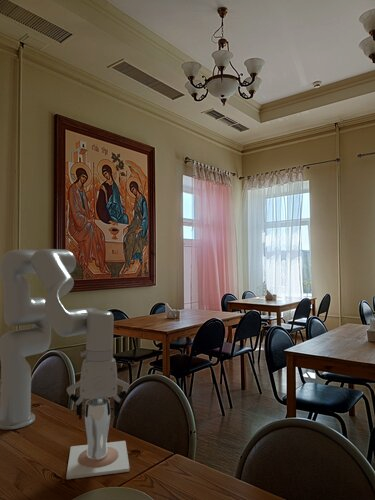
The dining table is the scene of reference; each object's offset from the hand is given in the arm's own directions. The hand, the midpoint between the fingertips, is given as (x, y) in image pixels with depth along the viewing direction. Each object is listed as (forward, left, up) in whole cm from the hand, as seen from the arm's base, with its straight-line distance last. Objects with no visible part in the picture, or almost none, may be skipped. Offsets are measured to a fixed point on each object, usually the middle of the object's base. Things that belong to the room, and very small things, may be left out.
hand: (98, 416), depth 106 cm
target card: (0, 0, -12) cm, 12 cm away
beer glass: (0, 0, -11) cm, 11 cm away
